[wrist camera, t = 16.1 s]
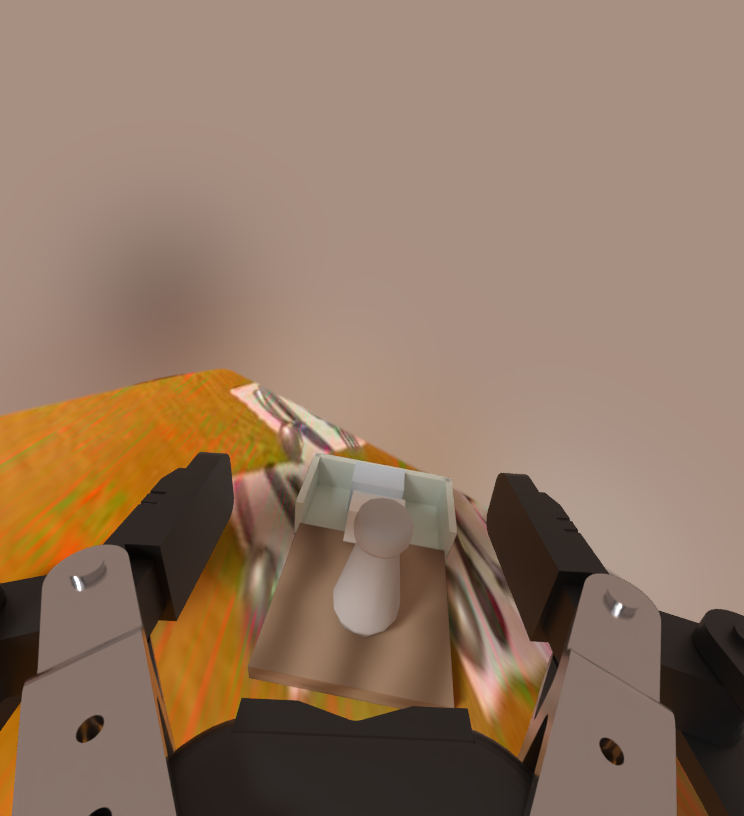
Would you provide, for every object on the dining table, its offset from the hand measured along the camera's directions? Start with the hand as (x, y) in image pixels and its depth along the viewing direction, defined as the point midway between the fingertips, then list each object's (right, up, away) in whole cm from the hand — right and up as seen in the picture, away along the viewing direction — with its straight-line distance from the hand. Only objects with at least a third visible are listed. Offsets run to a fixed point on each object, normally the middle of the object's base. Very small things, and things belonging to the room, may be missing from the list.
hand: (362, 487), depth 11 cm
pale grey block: (+1, -8, +32) cm, 33 cm away
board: (-1, -17, +24) cm, 29 cm away
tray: (0, -11, +33) cm, 35 cm away
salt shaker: (-1, -16, +22) cm, 27 cm away
